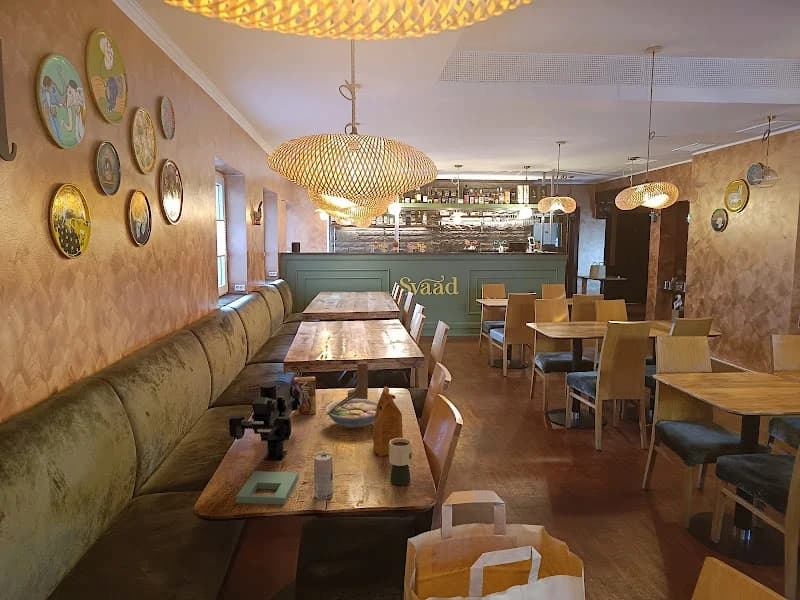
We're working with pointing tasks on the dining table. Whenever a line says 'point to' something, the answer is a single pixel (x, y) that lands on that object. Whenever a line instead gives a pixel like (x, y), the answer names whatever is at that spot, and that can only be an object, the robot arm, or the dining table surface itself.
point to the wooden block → (361, 382)
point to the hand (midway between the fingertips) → (252, 438)
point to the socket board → (268, 487)
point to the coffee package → (386, 423)
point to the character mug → (400, 460)
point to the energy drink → (323, 476)
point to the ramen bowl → (352, 412)
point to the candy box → (306, 394)
